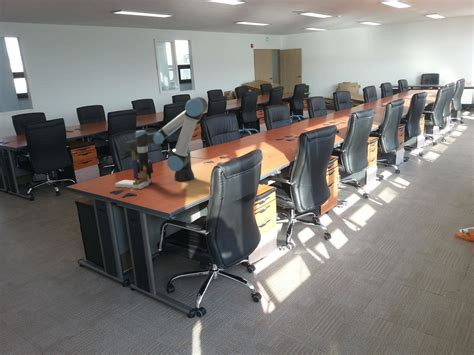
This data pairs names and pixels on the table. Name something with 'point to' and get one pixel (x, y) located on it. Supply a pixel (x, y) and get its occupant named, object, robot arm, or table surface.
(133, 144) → the rubber mallet
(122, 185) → the board
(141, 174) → the block
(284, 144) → the table surface
